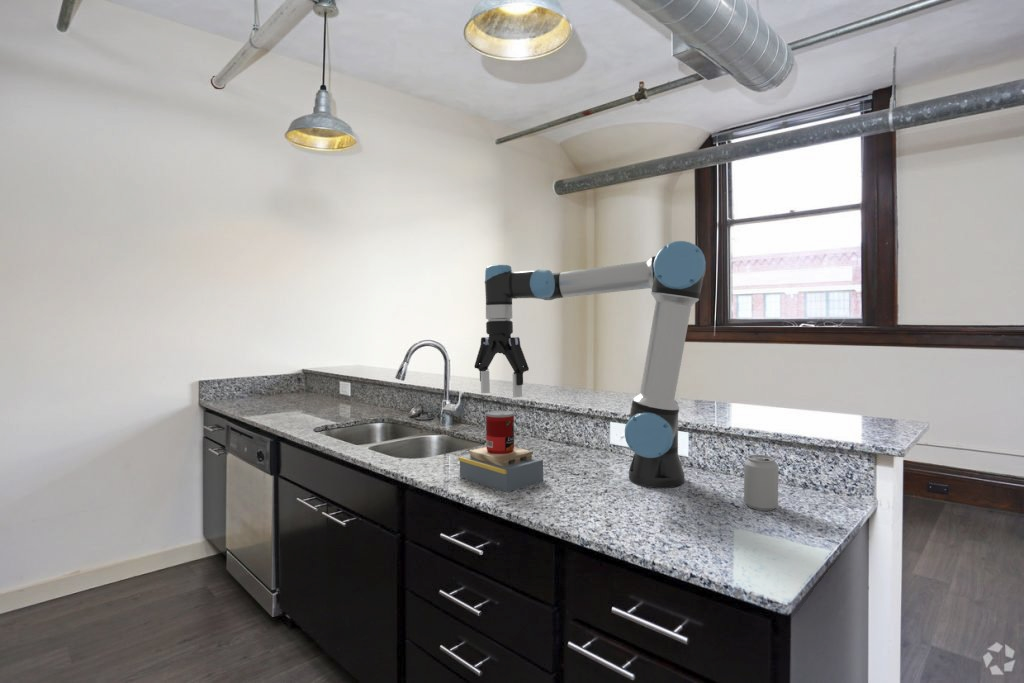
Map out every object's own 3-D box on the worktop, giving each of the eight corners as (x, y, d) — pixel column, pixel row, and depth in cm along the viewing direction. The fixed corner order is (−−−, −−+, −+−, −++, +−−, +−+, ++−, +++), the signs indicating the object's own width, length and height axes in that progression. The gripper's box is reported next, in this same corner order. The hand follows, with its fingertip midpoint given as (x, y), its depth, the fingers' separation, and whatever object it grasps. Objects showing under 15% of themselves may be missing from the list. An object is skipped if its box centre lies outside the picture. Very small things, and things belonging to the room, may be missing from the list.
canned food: (511, 454, 148) (510, 415, 147) (483, 453, 149) (482, 414, 149) (516, 448, 155) (516, 410, 155) (489, 447, 157) (489, 410, 156)
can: (776, 514, 123) (776, 462, 122) (741, 508, 127) (741, 458, 126) (779, 504, 129) (780, 455, 129) (746, 499, 133) (746, 451, 133)
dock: (543, 480, 150) (543, 459, 150) (505, 492, 140) (504, 470, 140) (495, 467, 164) (495, 448, 164) (458, 477, 154) (458, 456, 154)
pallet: (532, 458, 151) (532, 451, 151) (501, 466, 143) (501, 459, 143) (499, 450, 161) (499, 443, 161) (468, 457, 153) (468, 450, 153)
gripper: (540, 319, 144) (542, 397, 145) (481, 320, 162) (482, 390, 163) (520, 319, 139) (522, 400, 140) (461, 321, 157) (463, 392, 158)
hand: (501, 395), depth 151 cm, fingers open, 13 cm apart
